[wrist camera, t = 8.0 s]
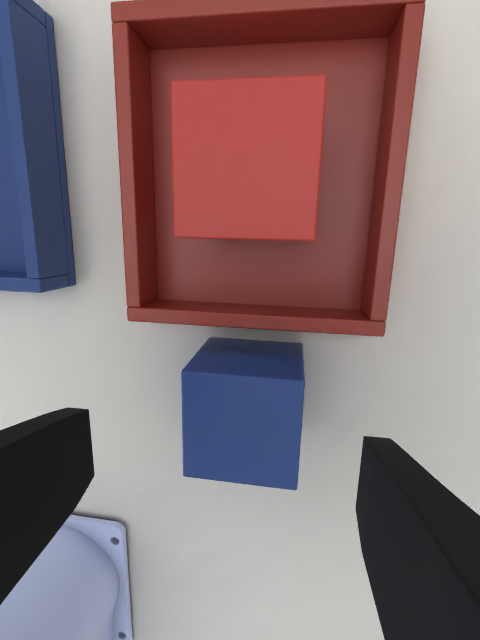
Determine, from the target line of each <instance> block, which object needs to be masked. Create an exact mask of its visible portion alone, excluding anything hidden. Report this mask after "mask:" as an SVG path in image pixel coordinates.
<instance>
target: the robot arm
mask: <svg viewBox="0 0 480 640" xmlns="http://www.w3.org/2000/svg"><path fill="white" fill-rule="evenodd" d="M93 477H94V464H93V453H92V442H91V430H90V419H89V410H88V409H78V408H64V409H60V410H57V411H53V412H50V413H47V414H44V415H41V416H38V417H35V418H33V419H30V420H27V421H24V422H22V423H19V424H16V425H14V426H11V427H8V428H5V429H3V430H0V640H133V637H132V622H131V606H130V591H129V575H128V560H127V544H126V530H125V527H124V525H123V524H122V523H120V522H117V521H110V520H103V519H97V518H90V517H83V516H76V515H71V513H72V512H73V511H74V509H75V508H76V506H77V504H78V503H79V501H80V500H81V498H82V496H83V495H84V493H85V491H86V489H87V488H88V486H89V484H90V482H91V481H92V479H93ZM356 514H357V521H358V529H359V535H360V542H361V549H362V554H363V558H364V562H365V566H366V570H367V573H368V577H369V581H370V585H371V589H372V593H373V597H374V600H375V604H376V608H377V612H378V616H379V619H380V623H381V627H382V631H383V635H384V639H385V640H480V516H479V515H478V514H477V513H476V512H474V511H473V510H472V509H471V508H470V507H468V506H467V505H466V504H465V503H463V502H462V501H461V500H460V499H459V498H457V497H456V496H455V495H454V494H453V493H452V492H450V491H449V490H448V489H447V488H446V487H445V486H443V485H442V484H441V483H440V482H439V481H438V480H437V479H435V478H434V477H433V476H432V475H431V474H430V473H429V472H428V471H426V470H425V469H424V468H423V467H422V466H421V465H420V464H419V463H418V462H416V461H415V460H414V459H413V458H412V457H411V456H410V455H409V454H408V453H406V452H405V451H404V450H403V449H402V448H401V447H400V446H399V445H397V444H396V443H395V442H394V441H393V440H391V439H389V438H379V437H368V436H364V439H363V448H362V457H361V465H360V474H359V483H358V492H357V501H356Z"/></svg>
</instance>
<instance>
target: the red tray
mask: <svg viewBox="0 0 480 640" xmlns="http://www.w3.org/2000/svg"><path fill="white" fill-rule="evenodd" d="M425 1H426V0H134V1H120V2H111V19H112V22H113V23H112V36H113V55H114V74H115V92H116V111H117V130H118V148H119V167H120V186H121V204H122V223H123V242H124V260H125V279H126V297H127V306H128V308H127V316H128V321H137V322H153V323H169V324H185V325H201V326H218V327H234V328H250V329H266V330H283V331H299V332H315V333H331V334H348V335H364V336H380V337H382V336H384V333H385V325H386V322H385V321H386V317H387V309H388V301H389V293H390V285H391V277H392V269H393V261H394V253H395V245H396V237H397V229H398V221H399V213H400V205H401V197H402V189H403V181H404V173H405V165H406V156H407V148H408V140H409V132H410V124H411V116H412V108H413V100H414V92H415V84H416V76H417V68H418V60H419V52H420V44H421V36H422V28H423V20H424V12H425ZM320 74H325V75H327V89H326V103H325V117H324V131H323V145H322V159H321V173H320V187H319V201H318V215H317V229H316V240H315V241H275V240H236V239H197V238H175V237H174V219H173V172H172V124H171V81H172V80H195V79H220V78H245V77H270V76H295V75H320Z"/></svg>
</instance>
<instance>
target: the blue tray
mask: <svg viewBox="0 0 480 640" xmlns="http://www.w3.org/2000/svg"><path fill="white" fill-rule="evenodd" d="M75 284H76V282H75V271H74V260H73V248H72V237H71V225H70V214H69V202H68V191H67V179H66V168H65V156H64V145H63V134H62V122H61V111H60V99H59V88H58V76H57V65H56V53H55V42H54V30H53V19H52V17H51V16H50V15H49V14H48V13H47V12H45V11H44V10H43V9H42V8H41V7H40V6H39V5H37V4H36V3H35V2H34V1H33V0H0V291H15V292H34V293H42V292H47V291H51V290H55V289H60V288H64V287H68V286H74V285H75Z"/></svg>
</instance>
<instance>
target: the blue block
mask: <svg viewBox="0 0 480 640" xmlns="http://www.w3.org/2000/svg"><path fill="white" fill-rule="evenodd" d="M181 378H182V436H183V476H185V477H193V478H201V479H209V480H217V481H225V482H233V483H241V484H249V485H257V486H265V487H273V488H281V489H289V490H297V485H298V471H299V457H300V443H301V429H302V415H303V401H304V387H305V377H304V361H303V346H302V344H301V343H286V342H270V341H255V340H240V339H225V338H209V339H208V340H207V341H206V343H205V344H204V345H203V346H202V347H201V349H200V350H199V351H198V352H197V353H196V355H195V356H194V357H193V358H192V359H191V361H190V362H189V363H188V364H187V365H186V366H185V368H184V369H183V370H182V372H181Z"/></svg>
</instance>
